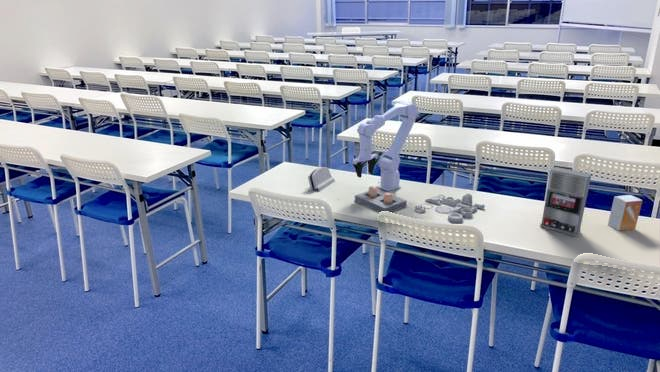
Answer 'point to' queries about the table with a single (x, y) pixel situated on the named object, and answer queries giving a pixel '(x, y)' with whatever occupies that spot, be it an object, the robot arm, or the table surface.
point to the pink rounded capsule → (372, 192)
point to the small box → (625, 212)
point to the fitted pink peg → (388, 198)
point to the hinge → (320, 178)
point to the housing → (380, 201)
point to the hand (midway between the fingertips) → (364, 175)
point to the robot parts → (454, 212)
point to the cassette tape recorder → (565, 200)
